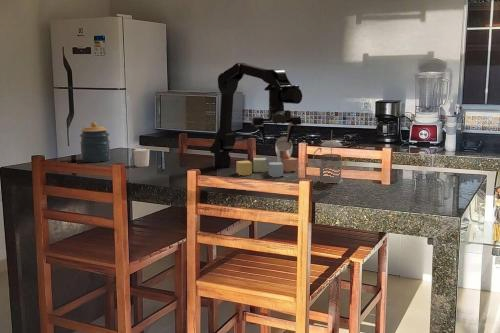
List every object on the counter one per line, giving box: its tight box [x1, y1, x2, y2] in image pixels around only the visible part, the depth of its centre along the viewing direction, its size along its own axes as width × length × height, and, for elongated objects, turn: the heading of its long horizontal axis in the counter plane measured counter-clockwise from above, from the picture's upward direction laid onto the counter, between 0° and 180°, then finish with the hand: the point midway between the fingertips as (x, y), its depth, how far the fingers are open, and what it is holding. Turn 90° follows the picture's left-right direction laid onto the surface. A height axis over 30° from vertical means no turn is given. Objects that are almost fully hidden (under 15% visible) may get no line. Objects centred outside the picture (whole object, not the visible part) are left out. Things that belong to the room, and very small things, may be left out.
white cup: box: [132, 148, 150, 168], centre depth 241 cm, size 7×7×7 cm
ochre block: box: [235, 160, 253, 176], centre depth 222 cm, size 5×5×5 cm
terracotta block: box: [281, 157, 298, 173], centre depth 229 cm, size 5×5×5 cm
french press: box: [312, 114, 344, 184], centre depth 207 cm, size 10×12×25 cm
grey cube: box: [268, 161, 284, 177], centre depth 218 cm, size 5×5×5 cm
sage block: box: [252, 157, 267, 173], centre depth 229 cm, size 5×5×5 cm
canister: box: [79, 121, 111, 163], centre depth 253 cm, size 13×13×18 cm
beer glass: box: [275, 136, 293, 162], centre depth 232 cm, size 7×7×15 cm
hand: (276, 143), depth 217 cm, fingers open, 9 cm apart
